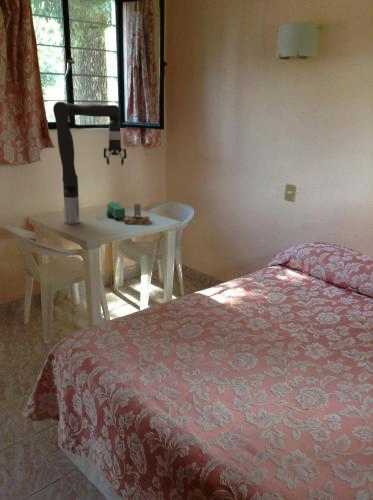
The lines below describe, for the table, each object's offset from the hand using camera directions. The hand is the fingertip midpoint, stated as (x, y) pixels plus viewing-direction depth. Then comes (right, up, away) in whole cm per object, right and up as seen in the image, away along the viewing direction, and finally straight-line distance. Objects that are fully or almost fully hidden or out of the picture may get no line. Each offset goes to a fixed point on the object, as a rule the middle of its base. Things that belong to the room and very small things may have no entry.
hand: (115, 164), depth 275 cm
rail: (+13, -36, +14) cm, 40 cm away
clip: (+13, -35, +14) cm, 40 cm away
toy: (-5, -30, +31) cm, 43 cm away
